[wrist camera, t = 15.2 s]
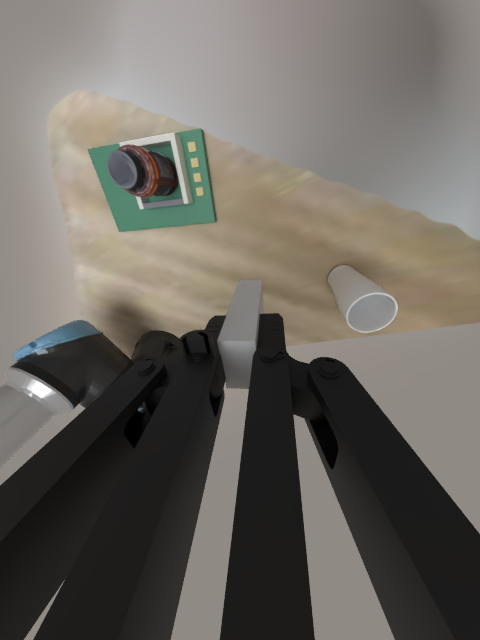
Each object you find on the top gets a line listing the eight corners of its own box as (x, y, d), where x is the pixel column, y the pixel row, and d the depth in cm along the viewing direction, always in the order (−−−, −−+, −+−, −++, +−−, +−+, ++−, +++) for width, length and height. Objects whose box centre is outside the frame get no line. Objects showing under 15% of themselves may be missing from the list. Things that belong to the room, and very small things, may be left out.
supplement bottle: (158, 143, 33) (112, 124, 23) (186, 176, 35) (153, 171, 25) (139, 174, 35) (90, 168, 26) (166, 204, 37) (130, 208, 28)
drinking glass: (316, 282, 43) (335, 319, 30) (339, 253, 39) (372, 282, 27) (341, 297, 44) (370, 340, 31) (367, 271, 40) (410, 307, 28)
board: (122, 230, 42) (111, 234, 39) (92, 150, 35) (75, 146, 32) (216, 221, 39) (211, 223, 36) (202, 130, 32) (195, 123, 29)
